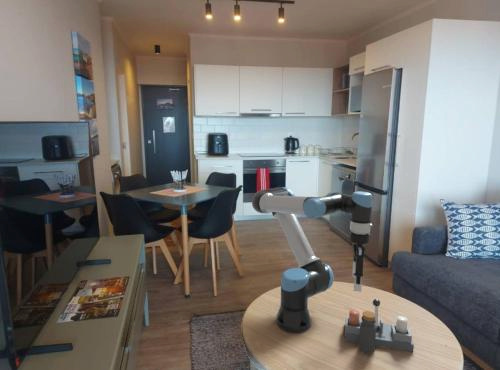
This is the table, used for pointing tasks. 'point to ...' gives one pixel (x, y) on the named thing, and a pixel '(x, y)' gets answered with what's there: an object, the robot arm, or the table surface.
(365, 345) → the bottle
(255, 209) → the robot arm
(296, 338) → the table surface
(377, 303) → the lever
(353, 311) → the button terracotta
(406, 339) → the panel
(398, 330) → the button ivory
